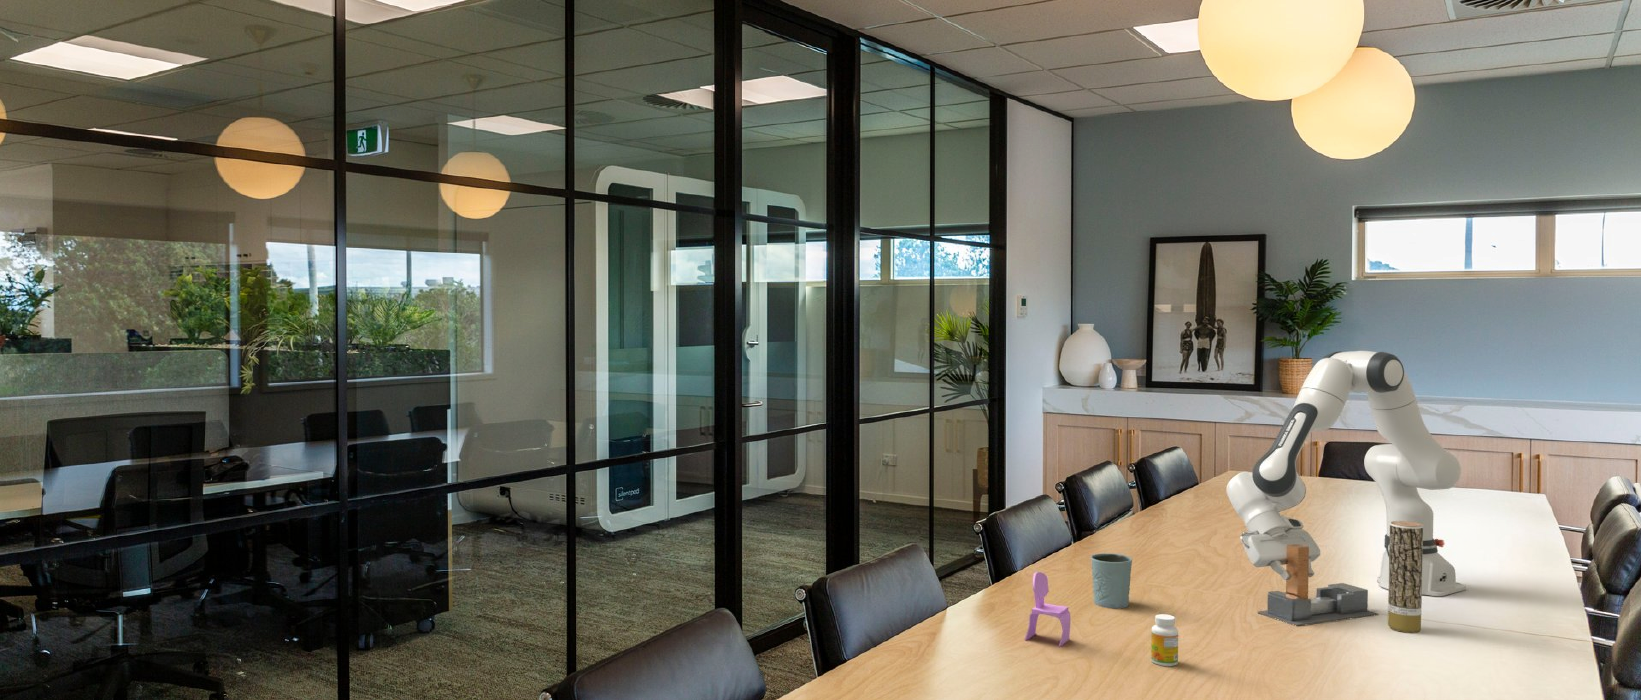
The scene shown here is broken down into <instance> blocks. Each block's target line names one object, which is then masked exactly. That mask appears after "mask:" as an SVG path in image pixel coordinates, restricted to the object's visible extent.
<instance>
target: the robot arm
mask: <svg viewBox="0 0 1641 700" xmlns="http://www.w3.org/2000/svg"><path fill="white" fill-rule="evenodd" d="M1350 393H1357V394H1359V393H1360V394H1361V393H1366V394H1367V399H1368V404H1369V408H1370V410H1371V414H1372V417H1373V422H1374V424H1375V428H1376V431H1377V432H1378V434H1379V435H1380V436H1381V437H1382V438H1384V439H1385V440H1387V441H1388V442H1389V443H1386V444H1385V443H1383V444H1377V445H1374V446H1371V447H1370V448H1369V449H1368V450H1367V451H1366V454H1365V455H1364V461H1363V462H1364V463H1363V464H1364V469H1365V472H1366V473H1367V474H1368V475H1369V477H1371V479H1373V481H1374V482H1375V483H1376V485H1377V486H1378V489H1379V490H1380V492H1381V495H1382V497H1383V500H1384V504H1385V511H1386V512H1385V513H1386V514H1385V515H1386V534H1385V535H1384V539H1383V540H1384V541H1383V543H1384V544H1383V545H1384V548H1385V551H1383V553H1382V556H1381V565H1380V574H1379V576H1377V578H1376V581H1377V582H1378V586H1379V587H1382V588H1384V589H1386V590H1389V541H1390V522H1392V521H1406V522H1414V523H1419V524H1422V525H1423V555H1422V595H1425V596H1433V597H1444V596H1447V595H1451V594H1455V593H1459V592H1463V591H1466V590H1467V586H1466V585H1465V584H1462V583H1460V582H1457V578H1456V577H1457V576H1456V569H1455V567H1454V566H1453V565H1452V564H1451V562H1449V561H1448V560H1446V558H1444V557H1443V556H1442V555H1441V554H1440V553H1439V550H1438V547H1439V548H1444V546H1445V541H1444V540H1443V539H1439V538H1434V511H1433V509H1432V507H1431V506H1430V505H1429V504H1428V503H1427V502H1425V501H1424V500H1423V499H1422V497H1421V496H1420V493H1419V491H1418V489H1417V488H1419V489H1424V490H1430V491H1431V490H1432V491H1433V490H1435V491H1436V490H1438V491H1439V490H1449V489H1451V488H1453V487H1455V486H1456V485H1457V483H1458V482H1459V480H1460V478H1461V475H1462V468H1461V463H1460V461H1459V460H1458V458H1457V457H1456V456H1455V455H1454V454H1452V453H1451V452H1450V451H1447V450H1446V449H1445V447H1443V446H1442V445H1441V444H1440V443H1439V442H1438V441H1437V440H1436V438H1434V437H1433V435H1432V433H1431V432H1430V431H1429V429H1428V428H1427V426H1426V424H1425V422H1424V420H1423V417H1422V415H1421V411H1420V409H1419V405H1418V402H1417V398H1416V395H1415V392H1414V389H1413V386H1412V384H1411V381H1410V379H1409V377H1408V374H1407V373H1406V371H1405V369H1404V365H1403V363H1402V362H1401V360H1400V359H1399V357H1398V356H1396V355H1395V354H1393V353H1390V352H1386V351H1385V352H1384V351H1370V350H1355V351H1354V350H1353V351H1333V352H1330V353H1328V354H1325V356H1323V357H1322V358H1321V359H1319V360H1318V361H1317V362H1316V363H1315V364H1314V366H1313V367H1312V369H1311V370H1310V372H1309V373H1308V375H1307V376H1306V378H1305V380H1304V382H1303V384H1302V385H1301V387H1300V390H1299V393H1298V394H1297V397H1296V399H1295V402H1294V404H1293V405H1292V406H1293V407H1292V409H1291V411H1290V412H1289V414H1288V415H1287V417H1286V420H1285V421H1284V422H1283V425H1282V426H1281V428H1280V430H1279V431H1278V434H1277V436H1276V437H1275V439H1274V442H1273V443H1272V445H1271V446H1270V448H1269V449H1268V451H1267V452H1266V453H1264V455H1262V456H1261V457H1260V458H1259V459H1258V460H1257V461H1256V463H1255V464H1254V466H1253V469H1252V471H1251V472H1249V471H1241V472H1239V473H1237V474H1235V475H1233V476H1232V478H1231V479H1230V480H1229V481H1228V483H1227V484H1226V490H1225V491H1226V495H1227V498H1228V500H1229V502H1230V503H1231V505H1232V507H1233V509H1234V511H1235V513H1236V514H1237V515H1238V517H1239V518H1241V519H1242V521H1243V522H1244V525H1245V528H1246V530H1247V531H1243V532H1242V533H1241V535H1240V542H1241V543H1242V544H1243V548H1244V551H1245V553H1246V555H1247V557H1248V559H1249V561H1250V563H1251V564H1252V565H1253V566H1255V567H1256V568H1263V567H1264V568H1265V567H1270V568H1271V570H1272V571H1274V573H1275V572H1276V573H1277V574H1278V575H1280V577H1281V579H1282V580H1283V581H1286V580H1289V579H1290V578H1291V577H1292V575H1291V574H1290V572H1289V570H1286V569H1285V568H1284V567H1283V565H1284V566H1285V565H1286V559H1287V545H1293V544H1299V545H1303V546H1308V547H1309V574H1308V578H1312V577H1314V576H1315V571H1314V570H1313V569H1312V564H1311V563H1313V562H1314V561H1316V560H1317V559H1318V558H1320V556H1321V549H1320V547H1319V545H1318V544H1317V542H1316V541H1315V540H1314V538H1313V537H1312V536H1311V534H1310V533H1309V532H1308V531H1307V530H1305V529H1303V528H1304V527H1305V526H1304V524H1303V522H1302V520H1300V519H1296V518H1292V517H1288V516H1286V515H1283V514H1280V512H1284V511H1286V510H1289V509H1291V508H1294V507H1296V506H1298V505H1299V504H1301V503H1302V502H1303V500H1304V499H1305V496H1306V493H1307V487H1306V483H1305V482H1304V481H1303V478H1301V475H1299V473H1298V472H1297V471H1298V470H1297V459H1298V457H1299V455H1300V453H1301V451H1302V449H1303V448H1304V445H1305V443H1306V442H1307V439H1308V438H1309V435H1310V434H1312V433H1313V432H1314V431H1317V432H1319V431H1320V432H1321V431H1326V430H1328V429H1331V428H1332V427H1334V425H1335V424H1336V422H1337V421H1338V419H1339V418H1340V417H1341V414H1342V412H1343V410H1344V408H1345V405H1346V403H1347V400H1348V398H1349V394H1350Z"/></svg>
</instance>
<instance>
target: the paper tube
mask: <svg viewBox="0 0 1641 700" xmlns="http://www.w3.org/2000/svg"><path fill="white" fill-rule="evenodd" d="M1422 555H1423V525H1422V524H1419V523H1414V522H1406V521H1392V522H1390V541H1389V589H1388V598H1387V599H1388V600H1387V601H1388V605H1387V611H1388V612H1387V614H1388V615H1387V625H1388V627H1389V628H1390V629H1392V630H1394V631H1397V632H1401V633H1411V634H1412V633H1418V632H1420V631H1421V629H1422V606H1423V605H1422V604H1423V603H1422V601H1423V600H1422V599H1423V598H1422V597H1423V596H1422Z"/></svg>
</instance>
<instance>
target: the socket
mask: <svg viewBox="0 0 1641 700" xmlns="http://www.w3.org/2000/svg"><path fill="white" fill-rule="evenodd" d="M1267 610H1268V611H1267V614H1270V615H1273V616H1276V617H1279V618H1282V619H1285V620H1288V621H1291V622H1292V621H1300V620H1307V619H1311V599H1310V598H1309V597H1308V598H1304V599H1302V598H1300V597H1297V596H1294V595H1290V594H1287V593H1286V591H1284V592H1283V591H1281V590H1280V591H1279V590H1274V591H1273V590H1272V591H1268V593H1267Z"/></svg>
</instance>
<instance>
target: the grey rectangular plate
mask: <svg viewBox="0 0 1641 700" xmlns="http://www.w3.org/2000/svg"><path fill="white" fill-rule="evenodd" d="M1267 611H1268V609H1267V610H1260V611H1257V614H1259V613H1260V614H1259V615H1262V614H1263V615H1262V616H1265V617H1267V618H1272V619H1274V618H1276V619H1275V620H1277V619H1279V620H1278V621H1280V620H1281V621H1280V622H1283V621H1284V622H1283V623H1286V622H1287V623H1286V624H1289V625H1292V624H1294V625H1293V626H1295V625H1296V626H1295V627H1300V626H1299V625H1302V626H1306V625H1305V624H1309V625H1315V624H1322V623H1323V622H1324V623H1330V622H1329V621H1331V622H1336V620H1338V621H1345V620H1344V619H1346V620H1350V618H1353V619H1360V618H1367V617H1374V615H1375V616H1379V613H1378V612H1376V611H1372V610H1368V611H1367V612H1359V613H1352V614H1345V615H1340V614H1337V612H1329V613H1321V614H1314V615H1311V619H1307V620H1300V621H1292V622H1291V621H1288V620H1285V619H1282V618H1279V617H1276V616H1273V615H1270V614H1267ZM1342 619H1343V620H1342ZM1324 623H1323V624H1324Z"/></svg>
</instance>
